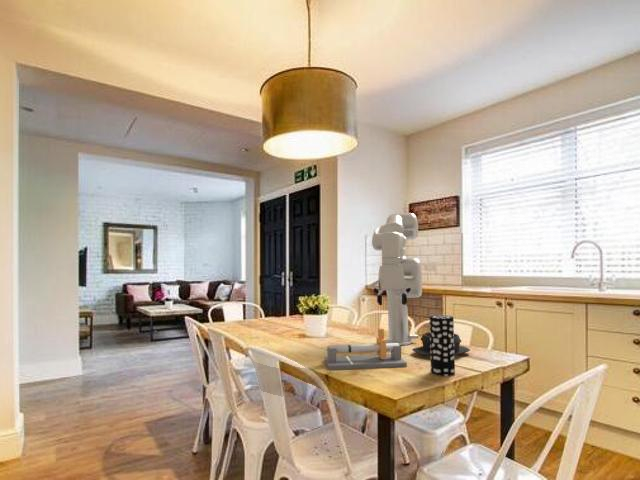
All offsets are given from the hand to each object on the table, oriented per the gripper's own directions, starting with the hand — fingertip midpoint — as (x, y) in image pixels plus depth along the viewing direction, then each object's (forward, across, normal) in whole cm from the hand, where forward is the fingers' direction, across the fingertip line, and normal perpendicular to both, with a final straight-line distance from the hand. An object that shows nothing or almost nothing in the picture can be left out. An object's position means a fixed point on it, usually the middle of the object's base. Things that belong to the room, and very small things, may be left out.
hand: (392, 304), depth 159 cm
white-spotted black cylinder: (+23, -14, +17) cm, 32 cm away
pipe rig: (+23, +12, +1) cm, 26 cm away
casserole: (+23, -24, -10) cm, 35 cm away
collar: (+20, +5, +1) cm, 21 cm away
